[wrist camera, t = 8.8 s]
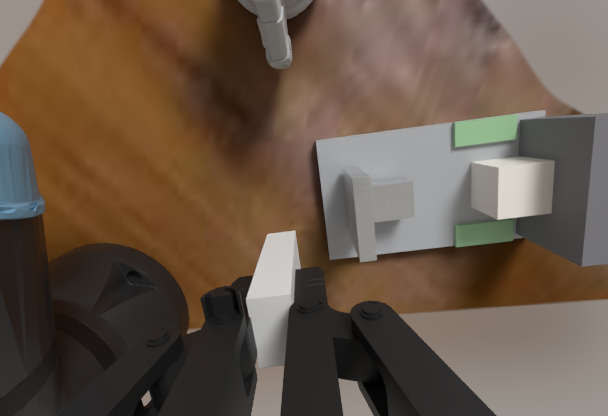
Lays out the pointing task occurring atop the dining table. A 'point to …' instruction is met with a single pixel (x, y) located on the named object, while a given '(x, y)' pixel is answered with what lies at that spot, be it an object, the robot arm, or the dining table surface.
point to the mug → (276, 27)
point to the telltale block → (512, 187)
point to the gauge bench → (457, 183)
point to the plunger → (374, 207)
